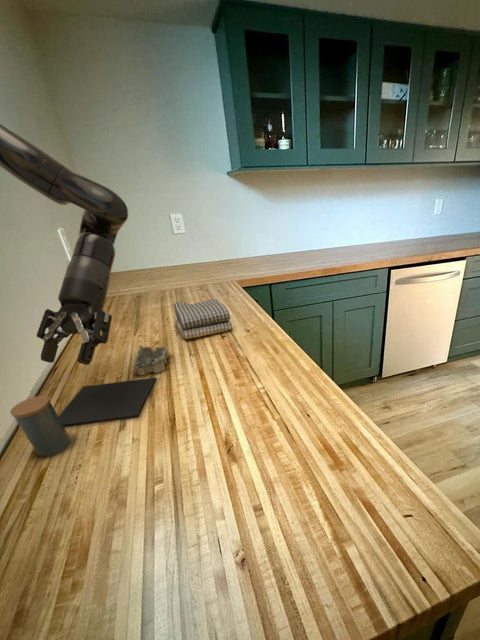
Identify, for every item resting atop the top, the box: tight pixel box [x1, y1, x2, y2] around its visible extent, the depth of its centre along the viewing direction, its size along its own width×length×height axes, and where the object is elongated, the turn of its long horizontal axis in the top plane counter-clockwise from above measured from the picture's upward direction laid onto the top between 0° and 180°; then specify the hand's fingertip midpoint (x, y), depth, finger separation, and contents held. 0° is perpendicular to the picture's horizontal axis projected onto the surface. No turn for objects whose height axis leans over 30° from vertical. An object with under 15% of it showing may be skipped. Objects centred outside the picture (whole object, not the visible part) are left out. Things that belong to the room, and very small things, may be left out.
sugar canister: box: [10, 395, 72, 458], centre depth 60 cm, size 6×6×10 cm
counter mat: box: [58, 377, 157, 428], centre depth 74 cm, size 17×15×1 cm
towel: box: [173, 298, 232, 340], centre depth 106 cm, size 15×18×8 cm
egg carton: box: [132, 345, 170, 376], centre depth 87 cm, size 11×8×4 cm
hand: (64, 362), depth 64 cm, fingers open, 8 cm apart
